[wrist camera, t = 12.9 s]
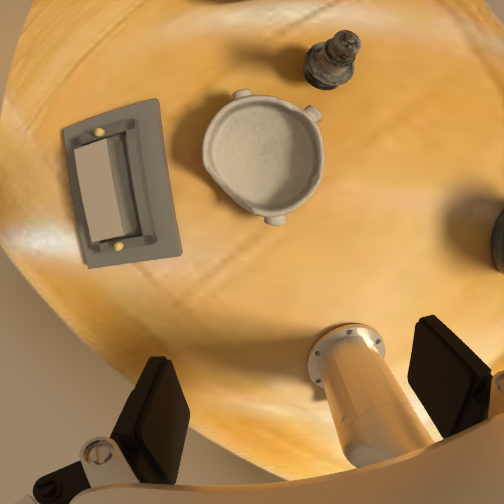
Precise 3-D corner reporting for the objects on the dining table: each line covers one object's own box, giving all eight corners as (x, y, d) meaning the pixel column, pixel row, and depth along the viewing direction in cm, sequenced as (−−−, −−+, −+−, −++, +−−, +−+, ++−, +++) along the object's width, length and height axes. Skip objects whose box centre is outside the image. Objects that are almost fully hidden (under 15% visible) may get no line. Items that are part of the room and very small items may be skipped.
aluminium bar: (123, 141, 33) (106, 138, 28) (139, 226, 36) (124, 235, 31) (94, 150, 33) (74, 149, 28) (109, 232, 36) (91, 242, 31)
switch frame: (182, 252, 38) (175, 262, 34) (93, 265, 39) (79, 275, 34) (159, 100, 33) (148, 93, 29) (69, 129, 33) (52, 127, 29)
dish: (287, 229, 38) (293, 238, 33) (187, 181, 36) (178, 183, 31) (339, 129, 34) (352, 124, 29) (239, 79, 32) (238, 66, 27)
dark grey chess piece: (294, 82, 32) (314, 46, 21) (308, 45, 31) (330, 2, 19) (338, 99, 33) (375, 73, 21) (350, 62, 31) (387, 28, 20)
